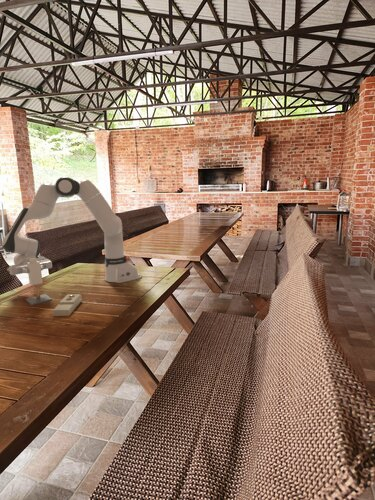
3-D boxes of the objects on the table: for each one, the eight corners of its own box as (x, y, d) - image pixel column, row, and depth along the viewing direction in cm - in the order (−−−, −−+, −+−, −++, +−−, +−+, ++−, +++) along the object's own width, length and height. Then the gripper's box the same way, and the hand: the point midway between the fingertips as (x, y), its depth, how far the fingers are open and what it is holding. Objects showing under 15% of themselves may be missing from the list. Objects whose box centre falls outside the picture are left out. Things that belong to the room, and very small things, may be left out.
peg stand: (45, 295, 169) (44, 281, 168) (51, 300, 162) (49, 286, 160) (25, 300, 163) (23, 285, 162) (30, 305, 156) (28, 290, 154)
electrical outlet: (52, 308, 143) (67, 294, 160) (53, 316, 144) (68, 301, 161) (68, 308, 143) (81, 293, 160) (69, 316, 144) (81, 301, 161)
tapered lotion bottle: (39, 280, 164) (36, 256, 161) (42, 283, 160) (39, 258, 157) (29, 282, 161) (26, 258, 158) (32, 285, 157) (28, 260, 154)
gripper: (5, 262, 161) (10, 268, 151) (46, 256, 174) (54, 260, 164) (6, 274, 163) (12, 280, 153) (47, 266, 176) (56, 272, 165)
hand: (34, 270), depth 158 cm, fingers closed on tapered lotion bottle, 5 cm apart
